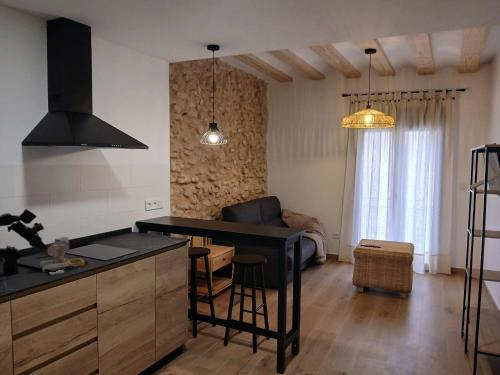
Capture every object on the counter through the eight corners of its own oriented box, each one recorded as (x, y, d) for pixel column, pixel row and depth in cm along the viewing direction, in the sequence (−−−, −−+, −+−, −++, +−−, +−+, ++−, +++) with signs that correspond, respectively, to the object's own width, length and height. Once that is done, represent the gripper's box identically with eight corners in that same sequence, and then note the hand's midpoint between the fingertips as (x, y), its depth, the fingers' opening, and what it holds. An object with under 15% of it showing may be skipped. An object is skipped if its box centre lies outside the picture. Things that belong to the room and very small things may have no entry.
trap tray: (70, 267, 223) (69, 264, 223) (66, 263, 231) (66, 259, 231) (84, 265, 228) (84, 262, 228) (80, 261, 236) (80, 258, 236)
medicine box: (63, 249, 263) (63, 236, 262) (69, 249, 262) (68, 237, 261) (54, 252, 255) (54, 239, 255) (60, 252, 254) (59, 239, 253)
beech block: (55, 268, 221) (54, 246, 220) (53, 266, 225) (52, 244, 224) (64, 267, 224) (63, 245, 223) (62, 264, 228) (62, 243, 227)
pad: (50, 275, 209) (50, 274, 209) (48, 271, 215) (48, 270, 215) (64, 272, 213) (64, 271, 213) (62, 269, 219) (62, 268, 219)
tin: (68, 252, 256) (68, 239, 255) (70, 253, 254) (70, 240, 253) (44, 256, 244) (44, 243, 243) (46, 257, 242) (46, 244, 241)
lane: (42, 271, 215) (42, 266, 215) (40, 266, 223) (40, 261, 223) (69, 267, 223) (68, 262, 223) (65, 263, 231) (65, 258, 231)
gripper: (36, 221, 207) (59, 239, 215) (32, 216, 222) (53, 233, 230) (19, 238, 203) (43, 255, 211) (16, 231, 218) (39, 247, 226)
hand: (45, 247), depth 219 cm, fingers open, 9 cm apart
